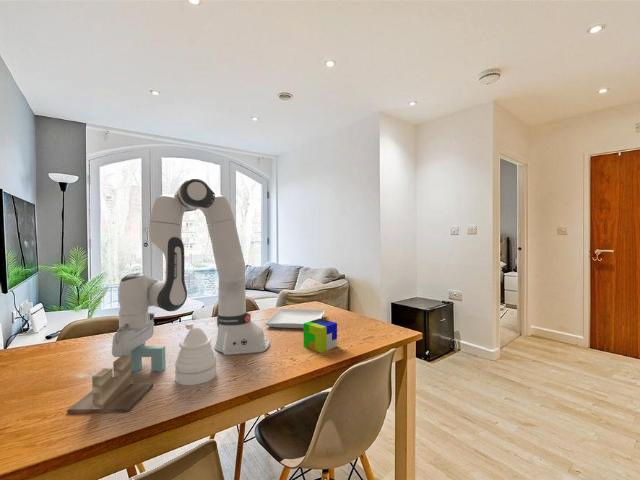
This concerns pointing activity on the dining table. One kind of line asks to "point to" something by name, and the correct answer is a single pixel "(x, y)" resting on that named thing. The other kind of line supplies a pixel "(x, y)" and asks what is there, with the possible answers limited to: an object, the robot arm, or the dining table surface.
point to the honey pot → (195, 358)
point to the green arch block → (148, 351)
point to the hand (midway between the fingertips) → (134, 359)
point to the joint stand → (112, 390)
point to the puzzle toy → (320, 335)
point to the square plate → (293, 317)
